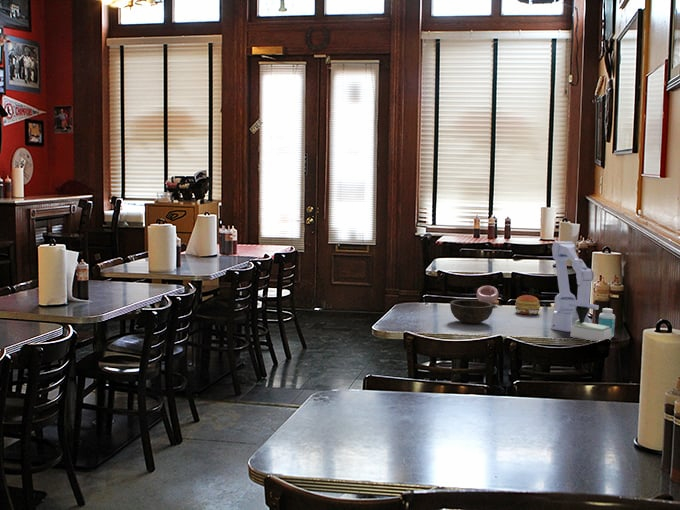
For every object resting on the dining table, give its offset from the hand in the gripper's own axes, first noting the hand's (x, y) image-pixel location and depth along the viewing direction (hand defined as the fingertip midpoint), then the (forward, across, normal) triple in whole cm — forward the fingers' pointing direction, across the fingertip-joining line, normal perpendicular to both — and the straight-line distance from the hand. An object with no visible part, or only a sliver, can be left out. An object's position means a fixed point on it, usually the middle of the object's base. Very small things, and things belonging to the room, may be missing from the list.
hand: (581, 322), depth 401 cm
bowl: (+7, -55, -8) cm, 56 cm away
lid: (+1, +5, 0) cm, 5 cm away
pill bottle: (+7, +8, +11) cm, 16 cm away
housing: (+7, +5, 0) cm, 9 cm away
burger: (+8, -45, +38) cm, 59 cm away
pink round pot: (+7, -73, +45) cm, 86 cm away
